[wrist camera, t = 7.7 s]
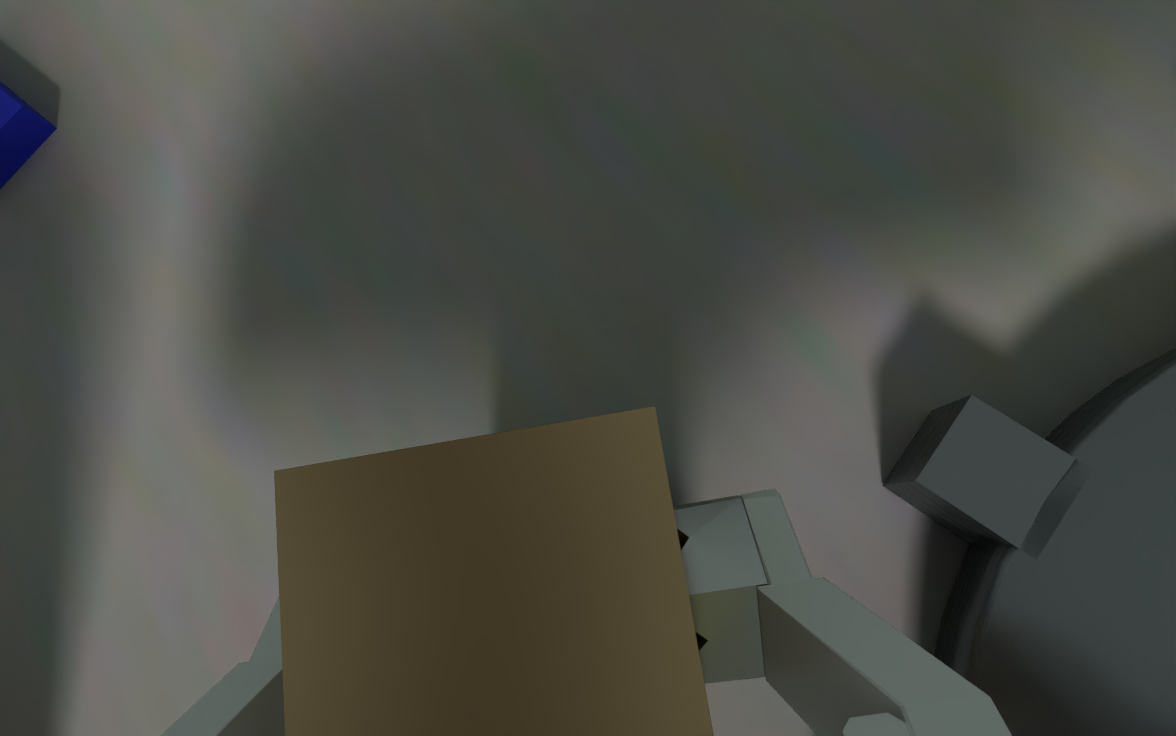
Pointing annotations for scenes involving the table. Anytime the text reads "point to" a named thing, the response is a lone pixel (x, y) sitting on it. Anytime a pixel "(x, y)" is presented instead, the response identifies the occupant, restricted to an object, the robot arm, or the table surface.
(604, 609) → the brown rectangular block
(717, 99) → the table surface
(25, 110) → the mount
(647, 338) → the table surface
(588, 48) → the table surface
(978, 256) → the table surface
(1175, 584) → the sprocket plate
